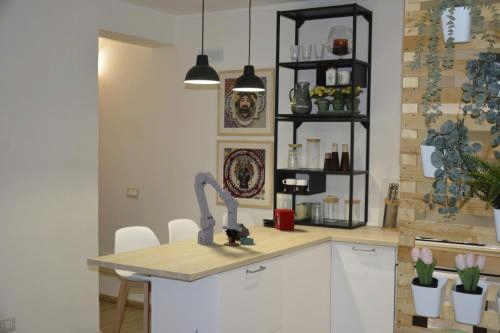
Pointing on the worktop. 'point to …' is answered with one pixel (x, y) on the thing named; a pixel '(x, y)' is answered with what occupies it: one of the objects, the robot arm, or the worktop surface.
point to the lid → (231, 243)
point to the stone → (242, 232)
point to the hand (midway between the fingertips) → (231, 242)
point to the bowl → (246, 241)
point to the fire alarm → (284, 219)
